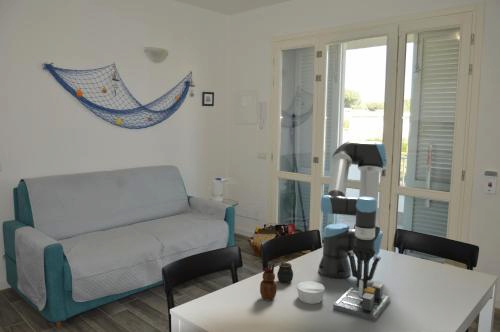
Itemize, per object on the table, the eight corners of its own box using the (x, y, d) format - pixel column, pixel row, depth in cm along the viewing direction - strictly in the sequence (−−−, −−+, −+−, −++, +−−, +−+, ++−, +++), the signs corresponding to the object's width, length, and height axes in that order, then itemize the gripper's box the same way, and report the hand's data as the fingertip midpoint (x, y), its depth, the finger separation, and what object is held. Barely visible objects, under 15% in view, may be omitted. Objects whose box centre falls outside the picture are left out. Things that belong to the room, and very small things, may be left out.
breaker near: (362, 308, 147) (362, 295, 146) (365, 305, 150) (365, 292, 149) (370, 310, 145) (370, 298, 144) (373, 307, 148) (373, 294, 147)
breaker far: (371, 297, 157) (372, 285, 156) (374, 294, 160) (375, 282, 159) (379, 299, 155) (380, 287, 154) (382, 295, 158) (382, 284, 157)
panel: (333, 309, 151) (333, 303, 151) (351, 291, 167) (351, 286, 167) (374, 321, 142) (375, 315, 142) (389, 301, 159) (389, 296, 158)
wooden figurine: (278, 296, 161) (279, 261, 159) (274, 302, 155) (275, 266, 154) (262, 294, 163) (263, 259, 161) (258, 300, 158) (258, 264, 156)
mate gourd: (285, 286, 171) (285, 264, 170) (273, 281, 177) (273, 259, 176) (296, 282, 176) (296, 260, 175) (284, 277, 182) (284, 256, 181)
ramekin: (307, 307, 152) (307, 294, 152) (291, 296, 162) (291, 283, 161) (330, 302, 157) (330, 289, 157) (313, 291, 167) (313, 279, 167)
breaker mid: (364, 301, 152) (364, 289, 152) (367, 298, 155) (367, 286, 155) (371, 304, 151) (372, 291, 150) (374, 300, 154) (375, 288, 153)
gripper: (344, 236, 152) (342, 294, 155) (378, 242, 145) (375, 303, 148) (351, 232, 159) (348, 288, 161) (384, 237, 151) (380, 296, 154)
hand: (361, 295), depth 154 cm, fingers closed
